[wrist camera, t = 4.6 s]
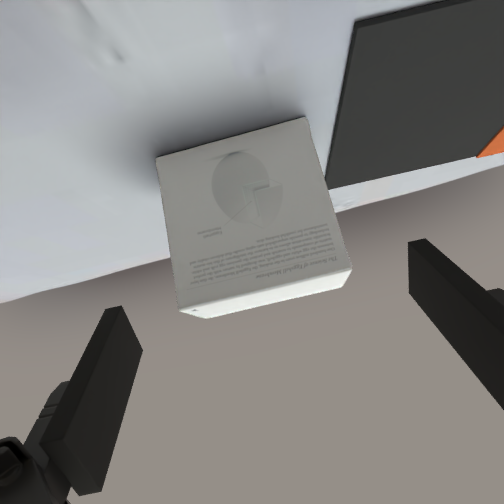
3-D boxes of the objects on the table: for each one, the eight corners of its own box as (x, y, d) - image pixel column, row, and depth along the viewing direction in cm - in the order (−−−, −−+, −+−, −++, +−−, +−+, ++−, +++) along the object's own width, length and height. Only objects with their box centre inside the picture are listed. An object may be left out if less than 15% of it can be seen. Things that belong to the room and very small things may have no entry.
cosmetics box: (184, 197, 30) (204, 322, 27) (152, 156, 24) (173, 311, 21) (308, 165, 29) (344, 291, 26) (308, 114, 23) (355, 270, 20)
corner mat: (323, 187, 33) (324, 192, 33) (354, 22, 17) (358, 31, 17) (562, 132, 33) (565, 138, 32) (830, -94, 16) (839, -85, 16)
